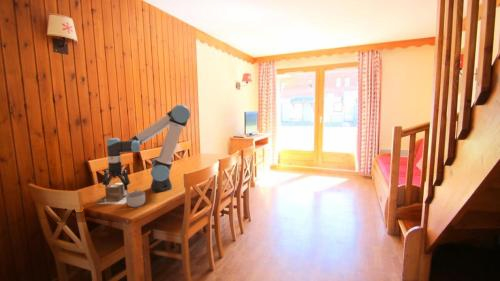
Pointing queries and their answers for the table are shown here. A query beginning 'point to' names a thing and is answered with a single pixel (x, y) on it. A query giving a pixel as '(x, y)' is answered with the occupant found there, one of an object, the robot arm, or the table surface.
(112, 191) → the wooden box
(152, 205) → the table surface
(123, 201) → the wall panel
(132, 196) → the teacup
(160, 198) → the table surface
